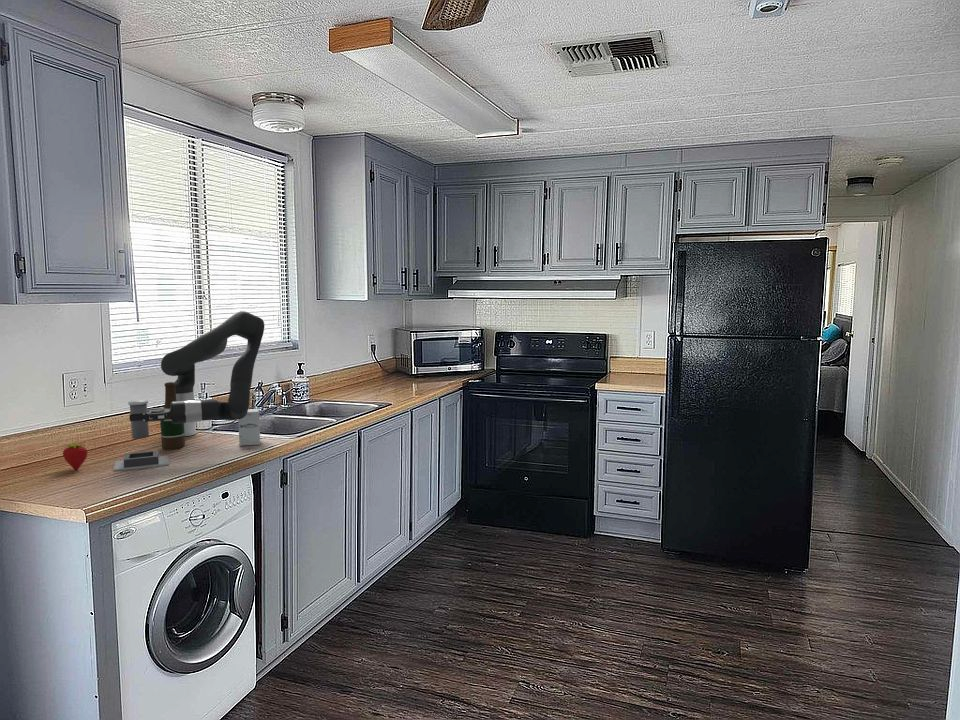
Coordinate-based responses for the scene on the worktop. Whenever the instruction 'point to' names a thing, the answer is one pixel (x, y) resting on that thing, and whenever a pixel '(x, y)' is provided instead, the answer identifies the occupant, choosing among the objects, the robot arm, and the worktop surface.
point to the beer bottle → (171, 432)
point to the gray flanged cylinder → (141, 426)
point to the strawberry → (75, 455)
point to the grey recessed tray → (141, 461)
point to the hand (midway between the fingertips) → (130, 416)
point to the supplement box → (249, 428)
